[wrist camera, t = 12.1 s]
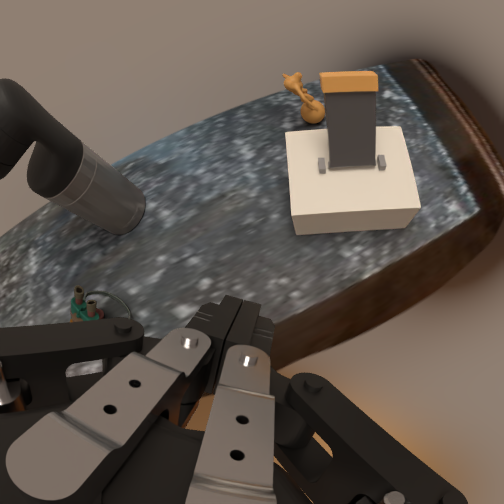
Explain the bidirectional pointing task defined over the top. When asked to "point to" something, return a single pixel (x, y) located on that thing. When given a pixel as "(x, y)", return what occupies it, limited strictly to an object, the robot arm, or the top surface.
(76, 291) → the binoculars
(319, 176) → the breaker housing
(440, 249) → the top surface
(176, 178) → the top surface
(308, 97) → the figurine
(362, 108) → the handle
